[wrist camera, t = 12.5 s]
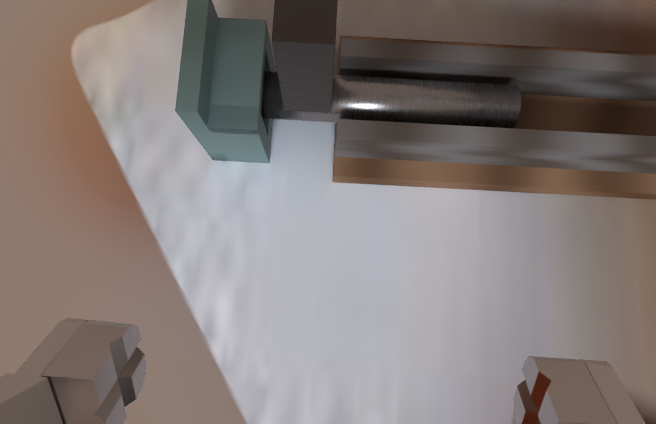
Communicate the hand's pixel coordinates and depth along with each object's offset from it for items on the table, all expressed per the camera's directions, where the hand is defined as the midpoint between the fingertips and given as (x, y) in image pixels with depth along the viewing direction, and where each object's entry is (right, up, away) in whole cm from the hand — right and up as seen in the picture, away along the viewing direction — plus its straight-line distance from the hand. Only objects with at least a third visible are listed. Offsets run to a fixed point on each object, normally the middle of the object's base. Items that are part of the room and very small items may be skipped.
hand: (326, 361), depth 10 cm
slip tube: (+2, +9, +18) cm, 21 cm away
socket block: (-5, +9, +20) cm, 23 cm away
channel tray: (+12, +8, +21) cm, 25 cm away
